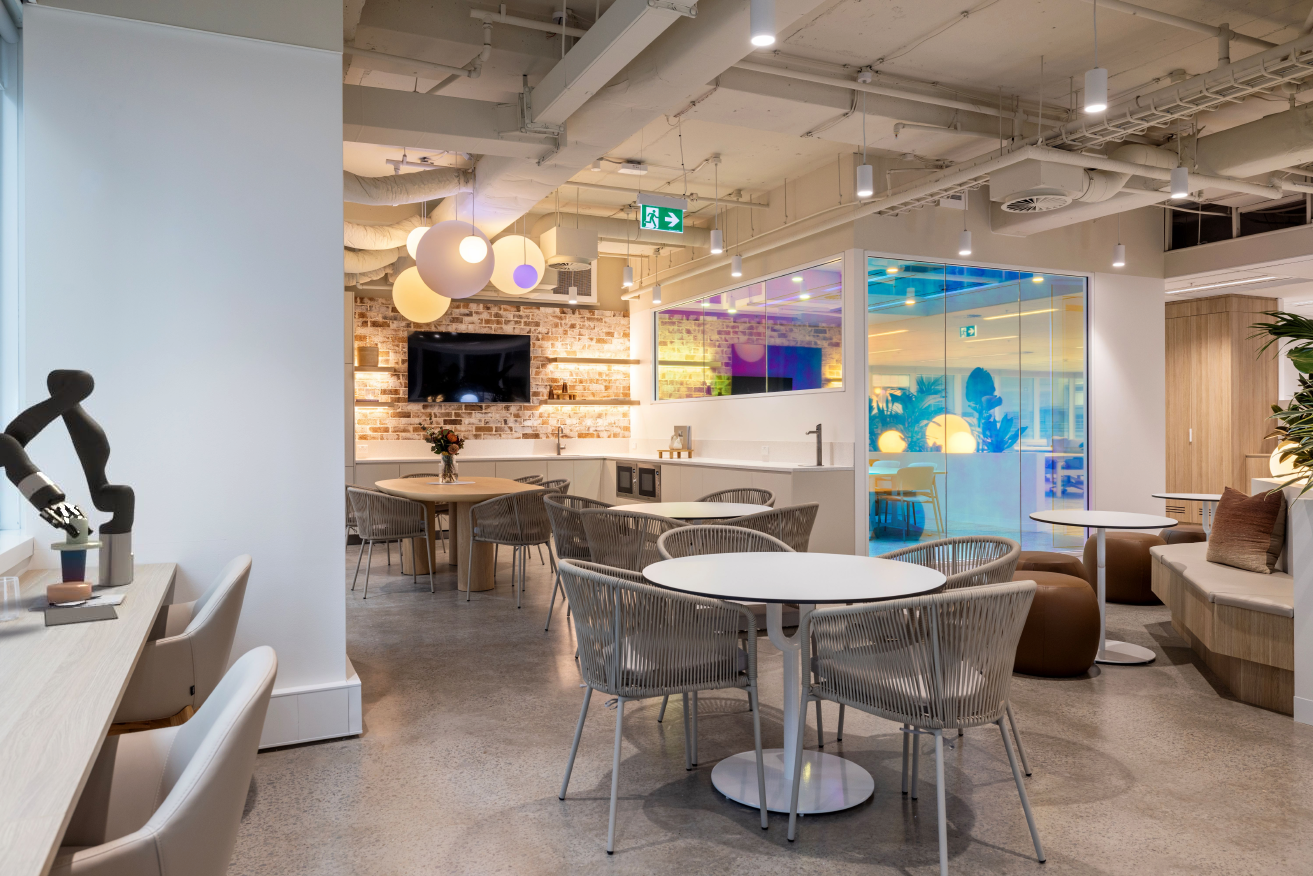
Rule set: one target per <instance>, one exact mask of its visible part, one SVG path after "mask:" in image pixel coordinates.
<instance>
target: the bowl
mask: <svg viewBox="0 0 1313 876" xmlns="http://www.w3.org/2000/svg"><path fill="white" fill-rule="evenodd" d="M92 585H93V583H92V582H90V581H84V582H65V583H63V582H59V583H54V584H53V583H52V584H50V585H47V586H46V601H47V602H49V603H53V602H55V603H67V602H73V601H81V600H85V599H86V600H87V599H91V598H92V597H93V596H92Z"/></svg>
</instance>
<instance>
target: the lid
mask: <svg viewBox="0 0 1313 876" xmlns="http://www.w3.org/2000/svg"><path fill="white" fill-rule="evenodd" d="M88 518H89V517H88ZM88 518H83V517H82V518H73V517H70V518H68V520H69V521H70V524H72V525H73V526H74V527H75V528H76V529H77V530H78V531H79V532H80V535H79V536H78V537H77V538H72V537H71V536H70V535H69V534H68V533H67V532H66V531H65V532H66V533H65V534H66V536H65V537H66V538H65V541H59V542H53V543H51V544H50V549H51V550H52V551H60V550H85V549H87V550H93V549H99V548H100V547H102V541H99V540H89V536H88V525H89V519H88Z"/></svg>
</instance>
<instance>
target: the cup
mask: <svg viewBox="0 0 1313 876" xmlns="http://www.w3.org/2000/svg"><path fill="white" fill-rule="evenodd" d="M87 550H88V549H85V550H59V552H60V567H61V577H62V579H61V580H62V583H65V582H85V578H86V577H85V576H86V564H87V563H86V562H87Z"/></svg>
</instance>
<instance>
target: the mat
mask: <svg viewBox="0 0 1313 876" xmlns="http://www.w3.org/2000/svg"><path fill="white" fill-rule="evenodd" d="M104 619H105V620H104ZM106 619H110V620H116V619H119V616H118V613H117V612H116V609H115V607H114V605H113V603H112V604H108V605H102V606H96V607H81V608H66V607H57V608H47V609H45V620H46V621H45V623H46V627H52V626H53V625H55V626H63V625H62V624H64V625H70V624H71V623H73V624H80V623H79V622H82V623H88V622H87V621H91V622H94V621H93V620H101V621H107V620H106ZM71 625H72V624H71ZM53 627H54V626H53Z"/></svg>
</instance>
